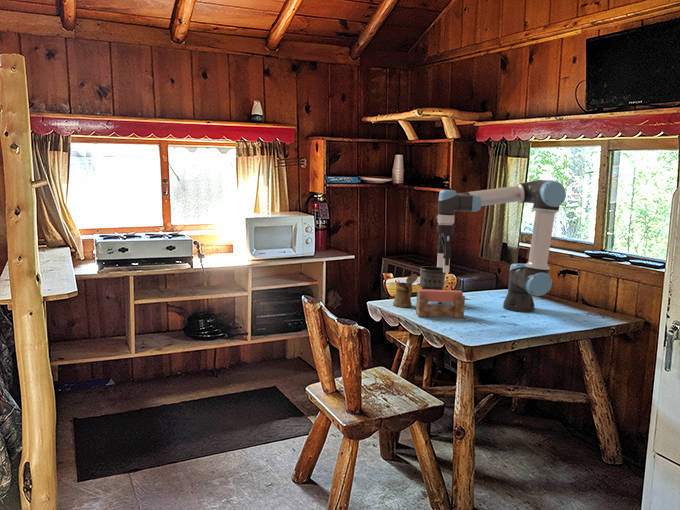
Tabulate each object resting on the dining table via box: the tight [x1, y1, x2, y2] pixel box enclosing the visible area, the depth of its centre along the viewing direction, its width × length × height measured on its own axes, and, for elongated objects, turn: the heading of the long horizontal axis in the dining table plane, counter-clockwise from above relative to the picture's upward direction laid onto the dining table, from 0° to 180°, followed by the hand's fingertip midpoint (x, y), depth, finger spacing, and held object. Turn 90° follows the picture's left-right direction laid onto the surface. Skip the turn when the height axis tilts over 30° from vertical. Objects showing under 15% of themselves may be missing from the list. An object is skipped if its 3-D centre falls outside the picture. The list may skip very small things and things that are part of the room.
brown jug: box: [392, 273, 419, 309], centre depth 291 cm, size 9×14×18 cm, turn 30°
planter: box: [419, 265, 446, 305], centre depth 303 cm, size 13×13×18 cm
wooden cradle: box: [415, 290, 466, 320], centre depth 277 cm, size 21×7×10 cm, turn 92°
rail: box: [417, 288, 464, 304], centre depth 276 cm, size 20×4×5 cm, turn 92°
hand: (442, 269), depth 274 cm, fingers open, 13 cm apart
